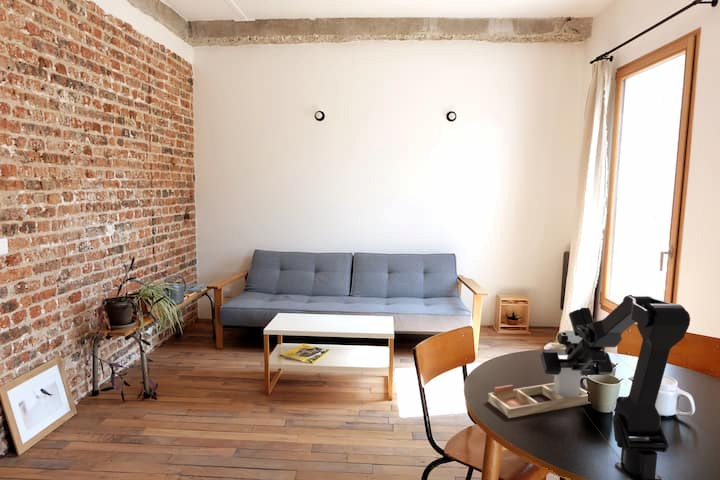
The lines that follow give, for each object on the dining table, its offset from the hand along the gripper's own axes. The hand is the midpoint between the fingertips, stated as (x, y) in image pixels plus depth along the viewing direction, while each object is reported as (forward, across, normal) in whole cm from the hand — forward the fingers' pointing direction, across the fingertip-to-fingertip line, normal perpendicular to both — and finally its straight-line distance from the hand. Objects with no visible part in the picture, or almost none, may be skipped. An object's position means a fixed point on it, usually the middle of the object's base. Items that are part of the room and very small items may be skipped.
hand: (565, 373), depth 134 cm
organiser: (+2, +9, +8) cm, 12 cm away
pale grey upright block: (+4, 0, +6) cm, 7 cm away
